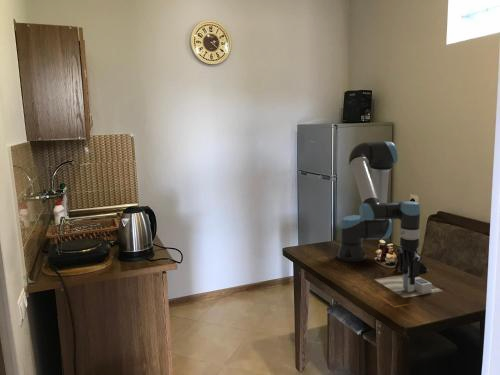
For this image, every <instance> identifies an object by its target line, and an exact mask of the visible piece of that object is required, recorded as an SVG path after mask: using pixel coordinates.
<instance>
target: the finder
mask: <svg viewBox="0 0 500 375" xmlns="http://www.w3.org/2000/svg"><path fill="white" fill-rule="evenodd" d="M432 285H433V283H432V282H430V281H428V280H426V279H424V278H422V277H420V276H419V277H415V284H414V290H416V291H418V292H419V293H421V294H423V295H425V294H424V293H429V294H431V293H430V292H432Z"/></svg>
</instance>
